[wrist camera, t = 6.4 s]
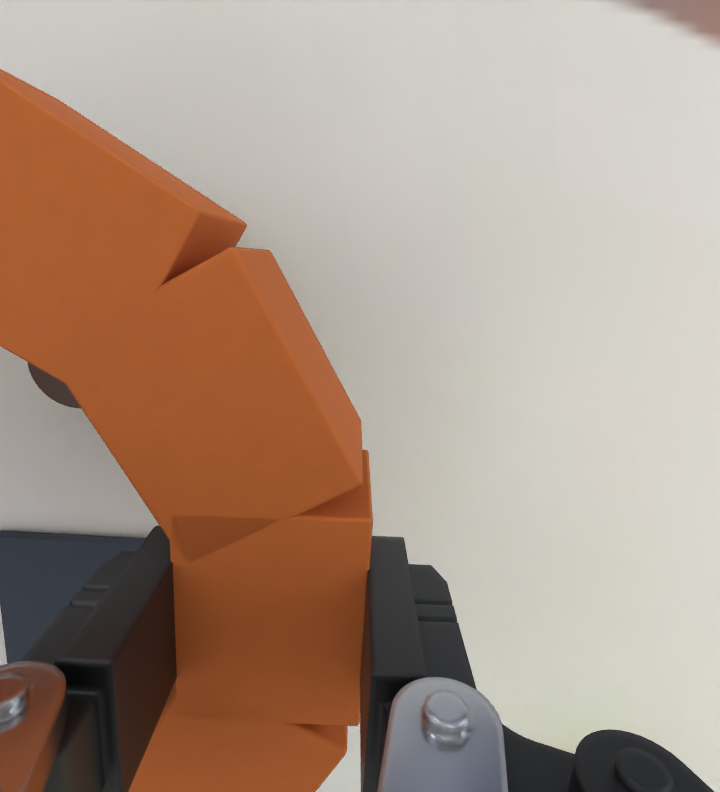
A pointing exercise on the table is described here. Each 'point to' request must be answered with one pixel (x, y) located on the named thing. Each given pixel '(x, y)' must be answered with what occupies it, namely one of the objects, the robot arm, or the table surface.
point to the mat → (46, 579)
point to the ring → (199, 441)
